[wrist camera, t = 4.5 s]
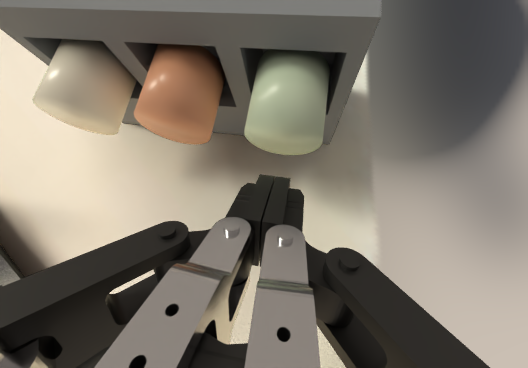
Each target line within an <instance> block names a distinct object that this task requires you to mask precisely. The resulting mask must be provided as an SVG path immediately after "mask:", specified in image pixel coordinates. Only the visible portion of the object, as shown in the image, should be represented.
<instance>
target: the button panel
mask: <svg viewBox="0 0 528 368" xmlns="http://www.w3.org/2000/svg"><path fill="white" fill-rule="evenodd" d="M380 18H381V0H0V29H1V30H3V31H4V32H5V33H7V34H8V35H9V36H10V37H12V38H13V39H14V40H16V41H17V42H18V43H20V44H21V45H22V46H24V47H25V48H26V49H27V50H29V51H30V52H31V53H33V54H34V55H35V56H37V57H38V58H39V59H40V60H42V61H43V62H44V63H46V64H47V65H48V66H49V65H50V63H51V60H52V58H53V56H54V54H55V52H56V50H57V48H58V46H59V44H60V42H61V40H62V39H75V40H96V41H100V42H102V43H104V44H105V45H106V46H107V47H108V48H109V49H110V50H111V51H112V52H113V54H114V55H115V56H116V57H117V58H118V59H119V60H120V61H121V63H122V64H123V65H124V66H125V67H126V68H127V69H128V70H129V72H130V73H131V74H132V75H133V76H134V77H135V78H136V79H137V81H136V84H135V87H134V90H133V92H132V95H131V98H130V101H129V103H128V106H127V109H126V112H125V114H124V117H123V120H122V123H128V124H138V125H141V124H140V123H139V122H138V121H137V120H136V118H135V116H134V110H135V108H136V105H137V102H138V99H139V96H140V93H141V91H142V88H143V85H144V82H145V79H146V76H147V74H148V71H149V68H150V65H151V62H152V59H153V57H154V54H155V51H156V48H157V46H158V44H178V45H199V46H202V47H203V48H205V49H206V50H208V51H209V52H210V53H212V54H213V55H214V56H215V57H216V58H217V59H218V61H219V62H220V63H221V65H222V67H223V70H224V73H225V81H224V85H223V89H222V94H221V98H220V102H219V106H218V110H217V114H216V118H215V122H214V126H213V130H212V132H216V133H225V134H235V135H245V134H244V130H245V125H246V120H247V115H248V110H249V105H250V100H251V95H252V91H253V86H254V81H255V76H256V71H257V66H258V62H259V60H260V58H261V57H262V55H263V54H264V53H265V52H267V51H268V50H269V49H281V50H302V51H318V52H319V53H320V54H321V55H322V56H323V57H324V58H325V59H326V61H327V63H328V65H329V69H330V75H329V85H328V94H327V104H326V114H325V123H324V133H323V142H322V143H323V144H330V141H331V139H332V136H333V134H334V131H335V129H336V127H337V124H338V122H339V119H340V117H341V114H342V112H343V109H344V107H345V104H346V102H347V99H348V97H349V94H350V92H351V90H352V87H353V85H354V82H355V80H356V77H357V75H358V72H359V70H360V67H361V65H362V62H363V60H364V57H365V55H366V53H367V50H368V48H369V45H370V43H371V40H372V38H373V35H374V33H375V30H376V28H377V25H378V23H379V20H380Z"/></svg>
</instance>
